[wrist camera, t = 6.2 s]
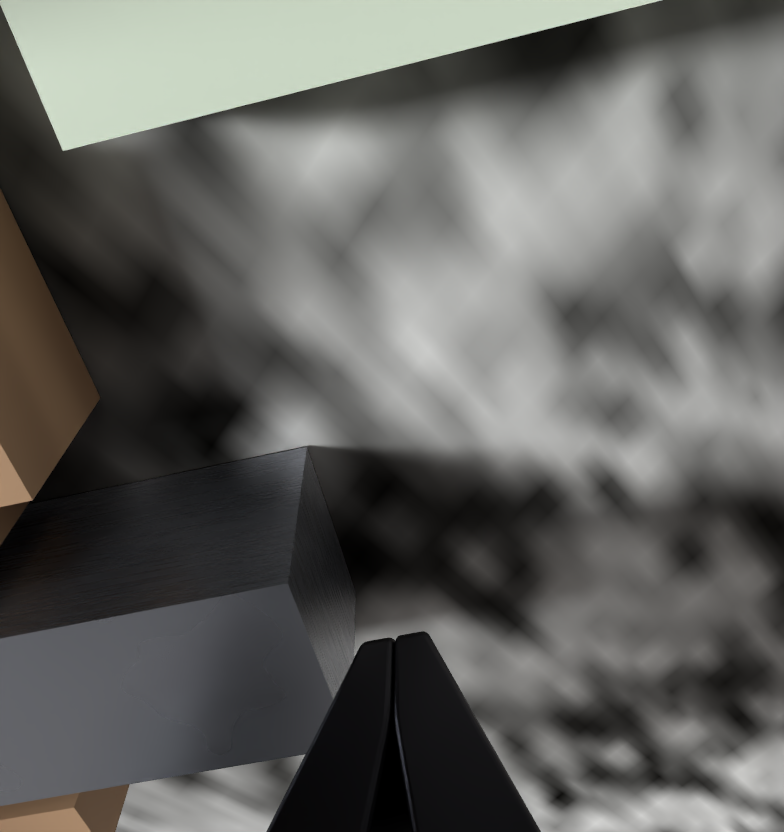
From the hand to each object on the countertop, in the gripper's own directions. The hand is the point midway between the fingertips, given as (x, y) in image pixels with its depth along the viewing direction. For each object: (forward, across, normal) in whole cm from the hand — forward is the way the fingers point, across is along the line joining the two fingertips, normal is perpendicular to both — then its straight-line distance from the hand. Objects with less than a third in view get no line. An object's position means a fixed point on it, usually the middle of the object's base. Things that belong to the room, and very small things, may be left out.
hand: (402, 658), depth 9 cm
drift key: (+3, +6, 0) cm, 7 cm away
